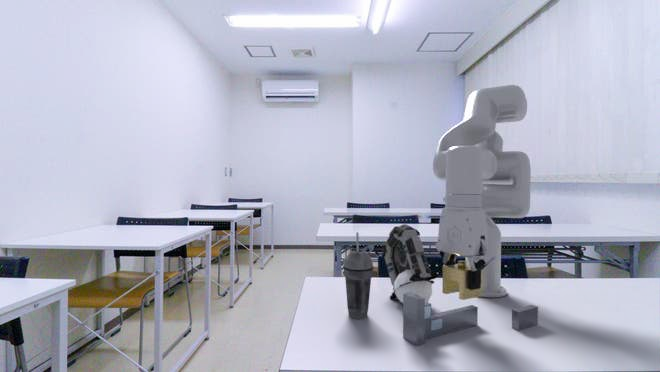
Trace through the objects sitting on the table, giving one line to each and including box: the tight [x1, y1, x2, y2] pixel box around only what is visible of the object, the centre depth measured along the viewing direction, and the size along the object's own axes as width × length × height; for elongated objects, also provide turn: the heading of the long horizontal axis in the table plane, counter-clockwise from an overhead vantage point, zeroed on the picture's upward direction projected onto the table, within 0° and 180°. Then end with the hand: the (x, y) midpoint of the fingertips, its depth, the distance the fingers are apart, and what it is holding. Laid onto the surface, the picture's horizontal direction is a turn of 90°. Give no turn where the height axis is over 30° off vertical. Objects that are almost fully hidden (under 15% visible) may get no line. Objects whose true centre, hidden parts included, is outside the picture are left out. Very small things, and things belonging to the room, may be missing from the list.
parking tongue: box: [511, 304, 539, 332], centre depth 75 cm, size 2×7×4 cm, turn 118°
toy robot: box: [381, 223, 439, 304], centre depth 90 cm, size 18×10×22 cm
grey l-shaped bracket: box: [402, 292, 479, 347], centre depth 72 cm, size 4×19×9 cm, turn 118°
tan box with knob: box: [442, 260, 482, 301], centre depth 74 cm, size 6×6×7 cm
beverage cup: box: [342, 232, 374, 320], centre depth 80 cm, size 7×7×20 cm
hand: (462, 284), depth 74 cm, fingers closed on tan box with knob, 5 cm apart
